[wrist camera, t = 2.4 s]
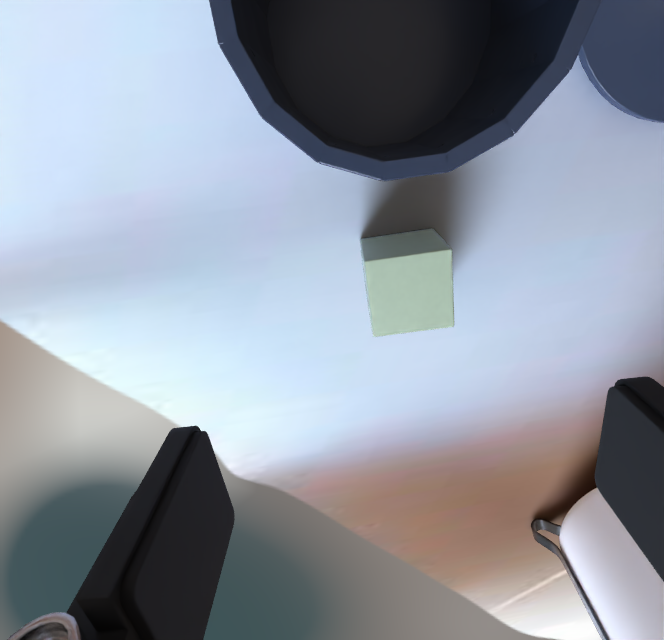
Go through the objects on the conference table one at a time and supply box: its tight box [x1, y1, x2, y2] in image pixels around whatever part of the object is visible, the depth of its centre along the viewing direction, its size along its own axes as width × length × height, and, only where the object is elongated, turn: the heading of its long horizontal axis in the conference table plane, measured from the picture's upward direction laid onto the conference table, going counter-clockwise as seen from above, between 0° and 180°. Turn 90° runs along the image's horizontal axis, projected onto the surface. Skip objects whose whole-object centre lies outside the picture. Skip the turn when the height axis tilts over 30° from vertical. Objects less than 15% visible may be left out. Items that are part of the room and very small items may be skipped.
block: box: [360, 228, 454, 337], centre depth 25 cm, size 5×5×5 cm
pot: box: [209, 0, 602, 181], centre depth 17 cm, size 12×12×10 cm
